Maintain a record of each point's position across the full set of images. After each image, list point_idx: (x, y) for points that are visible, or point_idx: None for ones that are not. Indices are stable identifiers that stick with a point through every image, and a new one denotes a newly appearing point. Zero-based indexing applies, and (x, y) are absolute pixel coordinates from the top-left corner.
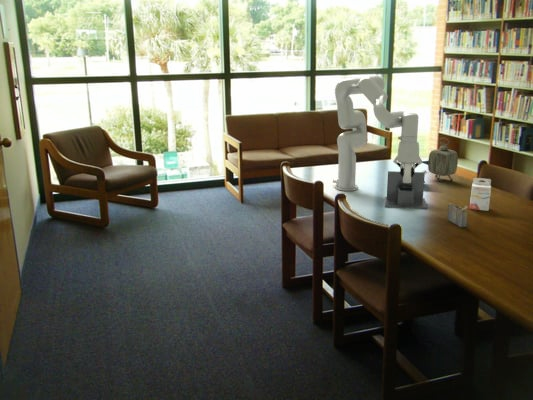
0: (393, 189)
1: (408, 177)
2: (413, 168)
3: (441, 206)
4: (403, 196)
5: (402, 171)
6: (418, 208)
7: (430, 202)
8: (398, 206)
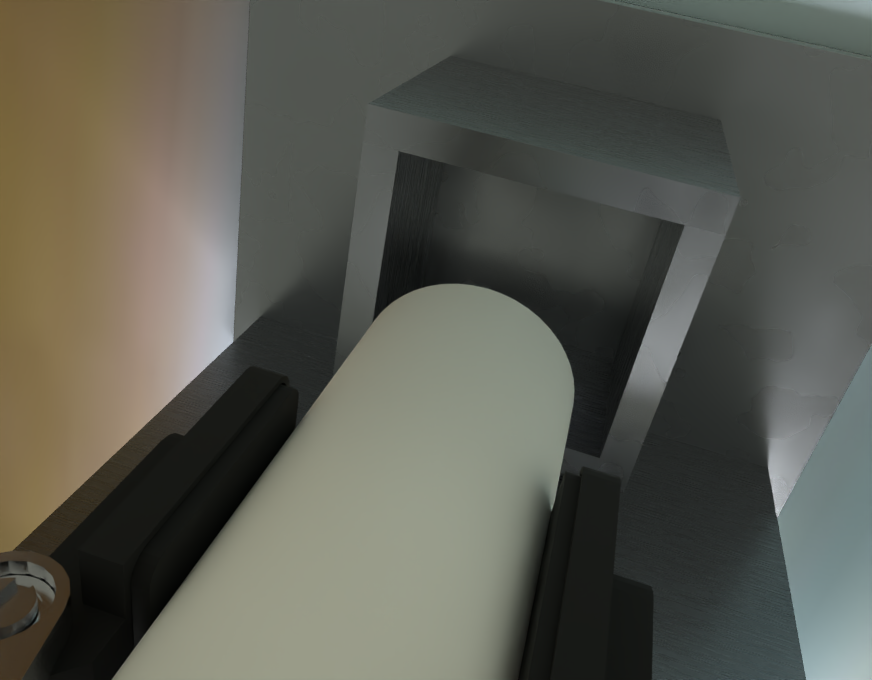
0: (669, 536)
1: (403, 368)
2: (55, 578)
3: (58, 57)
4: (615, 132)
5: (588, 607)
6: None
7: (182, 258)
8: (735, 27)
